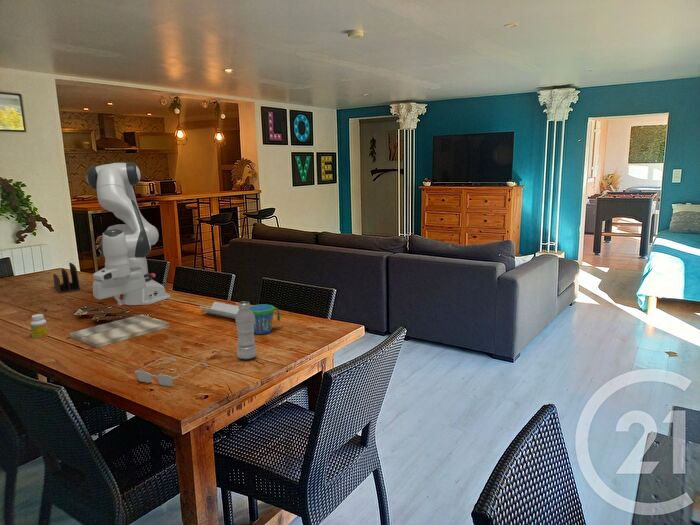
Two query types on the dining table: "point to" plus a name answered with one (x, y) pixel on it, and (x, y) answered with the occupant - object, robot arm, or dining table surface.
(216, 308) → the z bracket
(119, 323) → the floor panel
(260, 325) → the snack cup
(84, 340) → the loose plank
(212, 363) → the dining table surface
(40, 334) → the supplement bottle
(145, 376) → the eyeglasses
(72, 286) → the letter holder
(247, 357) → the plastic bottle
